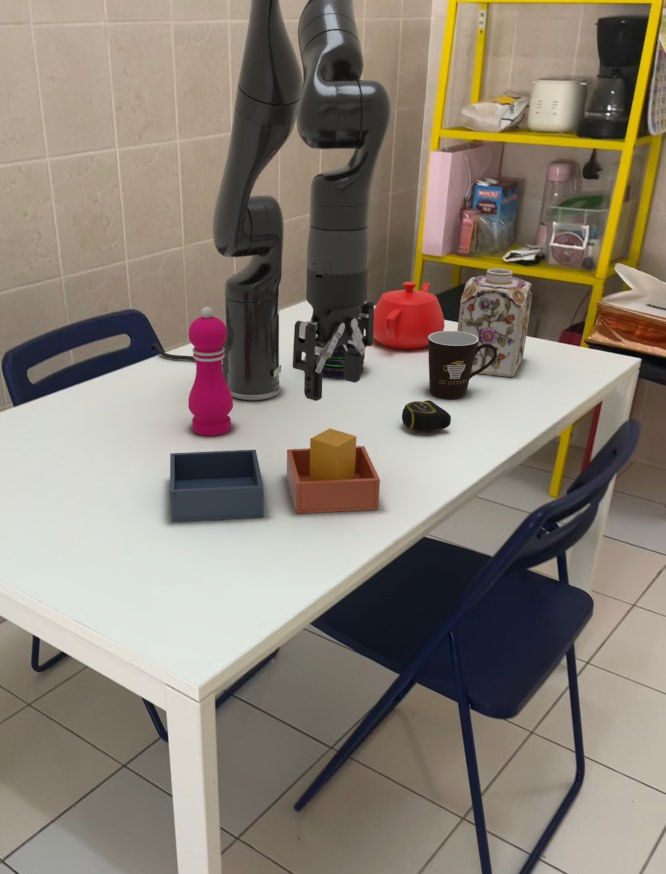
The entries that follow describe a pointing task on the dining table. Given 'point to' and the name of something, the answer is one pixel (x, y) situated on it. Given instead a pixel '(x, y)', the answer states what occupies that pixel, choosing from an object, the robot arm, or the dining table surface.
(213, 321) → the pepper mill
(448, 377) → the coffee mug
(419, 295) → the teapot
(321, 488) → the terracotta bin
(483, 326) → the decorative jar
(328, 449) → the mustard box
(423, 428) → the tape measure
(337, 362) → the storage jar
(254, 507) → the slate bin
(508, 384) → the dining table surface
